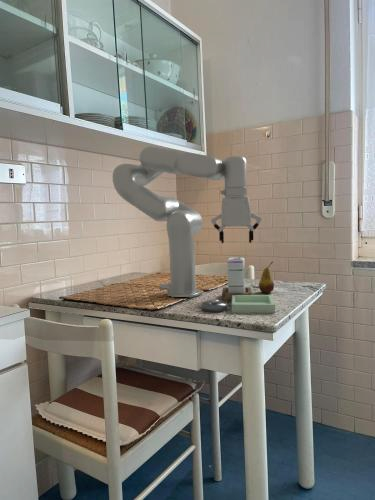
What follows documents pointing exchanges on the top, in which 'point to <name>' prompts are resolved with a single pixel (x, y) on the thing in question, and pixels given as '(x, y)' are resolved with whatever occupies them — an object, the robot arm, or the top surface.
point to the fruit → (266, 281)
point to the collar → (228, 296)
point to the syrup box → (236, 275)
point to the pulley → (214, 306)
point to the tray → (253, 304)
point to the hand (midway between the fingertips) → (236, 242)
